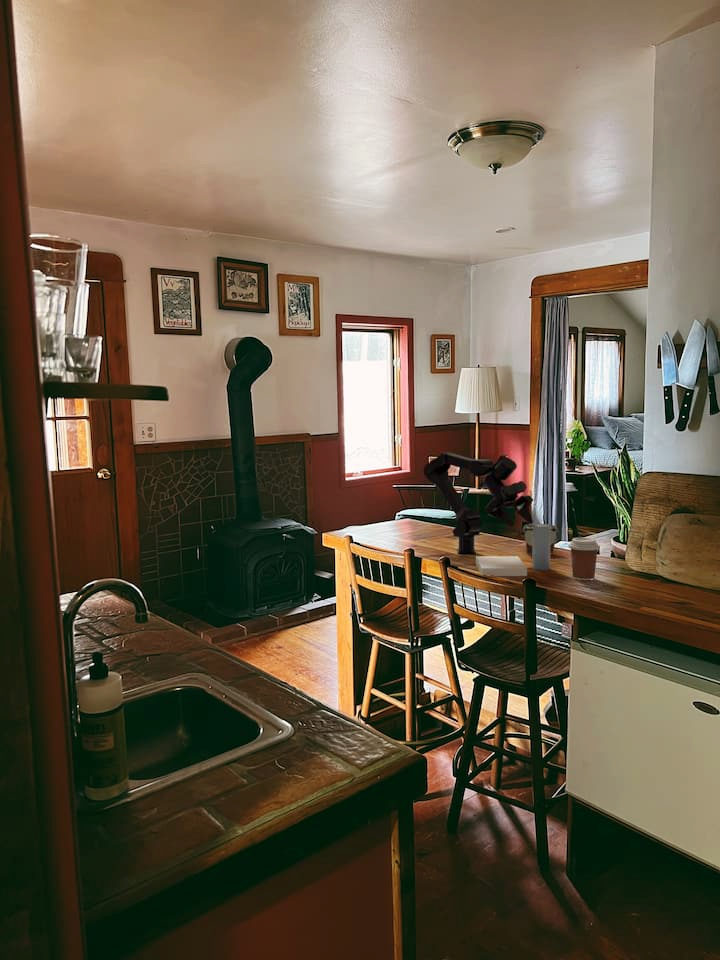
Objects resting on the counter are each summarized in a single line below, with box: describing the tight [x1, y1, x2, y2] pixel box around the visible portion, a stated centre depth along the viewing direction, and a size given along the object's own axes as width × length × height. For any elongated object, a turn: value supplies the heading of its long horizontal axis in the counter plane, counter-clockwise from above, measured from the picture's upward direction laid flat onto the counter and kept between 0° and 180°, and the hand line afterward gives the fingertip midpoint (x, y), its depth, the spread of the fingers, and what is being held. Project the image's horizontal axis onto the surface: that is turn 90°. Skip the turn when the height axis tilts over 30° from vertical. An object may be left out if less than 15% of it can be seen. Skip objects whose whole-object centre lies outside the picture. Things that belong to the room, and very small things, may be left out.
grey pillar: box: [531, 523, 551, 571], centre depth 229 cm, size 6×6×14 cm
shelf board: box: [475, 555, 528, 577], centre depth 229 cm, size 18×14×2 cm
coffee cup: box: [568, 537, 601, 581], centre depth 215 cm, size 9×9×12 cm
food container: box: [522, 523, 559, 555], centre depth 255 cm, size 12×6×10 cm, turn 84°
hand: (522, 524), depth 235 cm, fingers open, 9 cm apart
